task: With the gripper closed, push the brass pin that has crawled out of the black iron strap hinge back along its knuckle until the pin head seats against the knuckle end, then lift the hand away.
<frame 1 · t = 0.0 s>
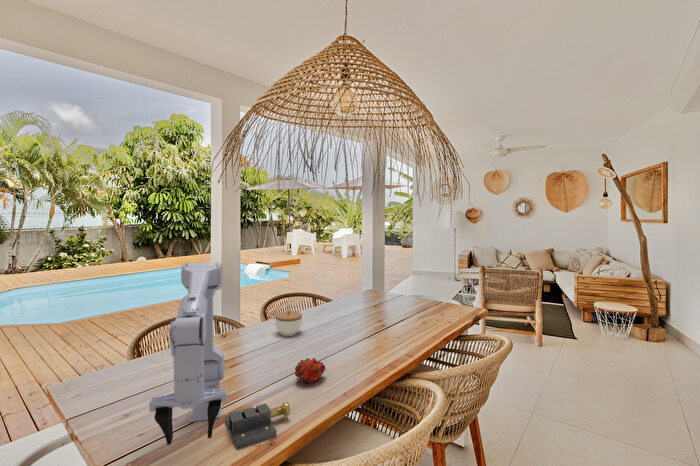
hand: (190, 438, 74), 10 cm above the table, fingers open, 7 cm apart
lidded bowl: (288, 334, 169), on the table
dragon fruit: (310, 381, 121), on the table
hinge leaves: (250, 428, 94), on the table
pin: (268, 414, 96), point 3 cm above the table, slide at 4.0 cm
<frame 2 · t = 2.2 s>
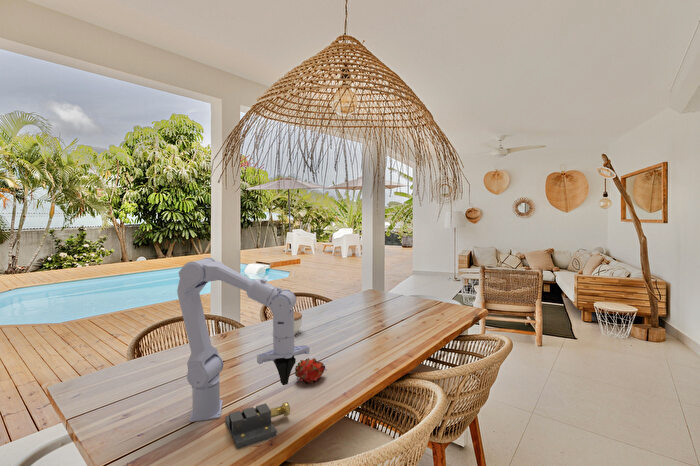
hand: (284, 383, 98), 10 cm above the table, fingers closed
nothing on the table moved.
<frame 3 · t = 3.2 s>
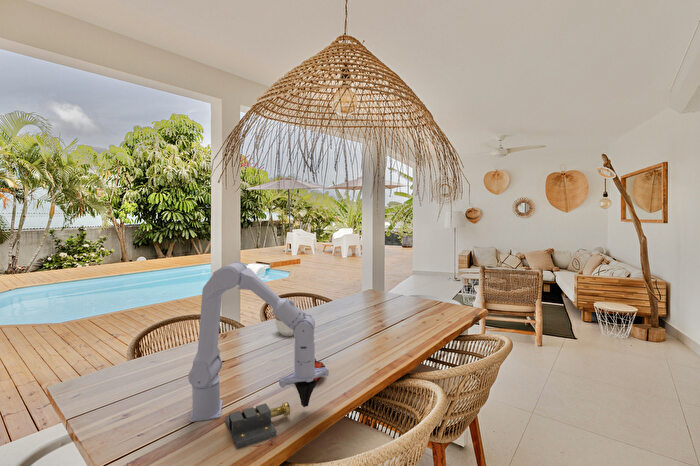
hand: (304, 404, 102), 2 cm above the table, fingers closed
nothing on the table moved.
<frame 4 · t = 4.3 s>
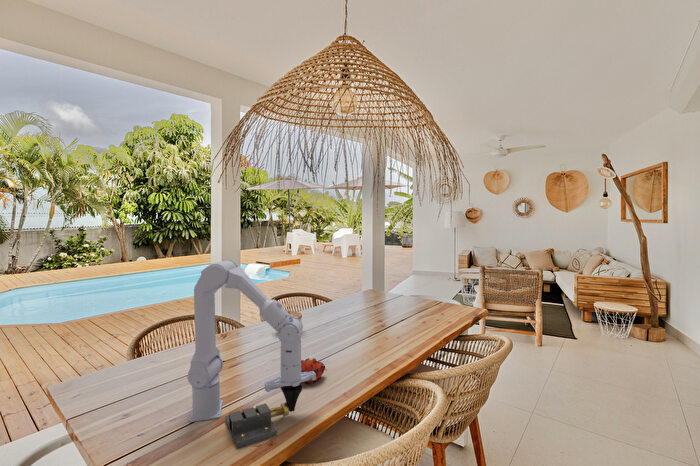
hand: (290, 409, 99), 2 cm above the table, fingers closed
pin: (266, 414, 96), point 2 cm above the table, slide at 3.6 cm, touching gripper
everything else where it was.
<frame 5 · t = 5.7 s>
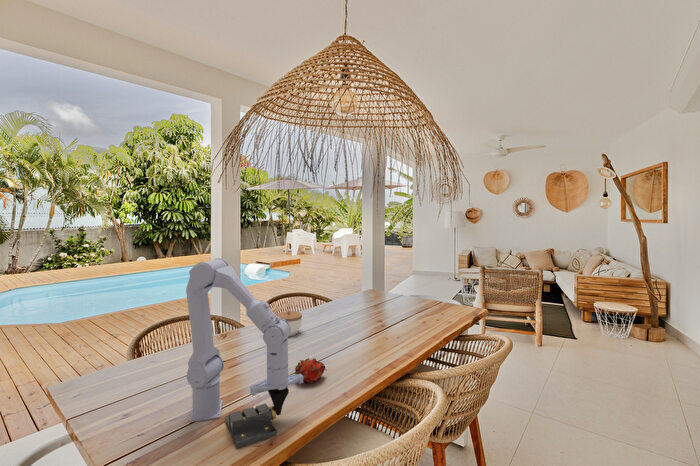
hand: (277, 413, 98), 2 cm above the table, fingers closed
pin: (253, 418, 94), point 3 cm above the table, slide at -0.1 cm, touching gripper
everything else where it was.
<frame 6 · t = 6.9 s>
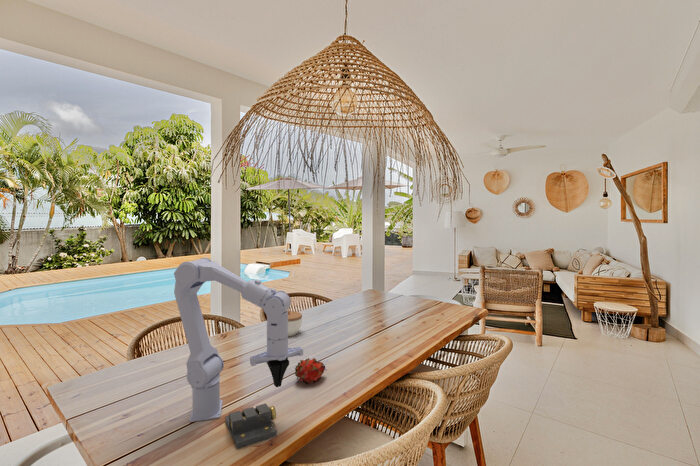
hand: (277, 385, 97), 10 cm above the table, fingers closed
pin: (253, 418, 94), point 3 cm above the table, slide at 0.0 cm
everything else where it was.
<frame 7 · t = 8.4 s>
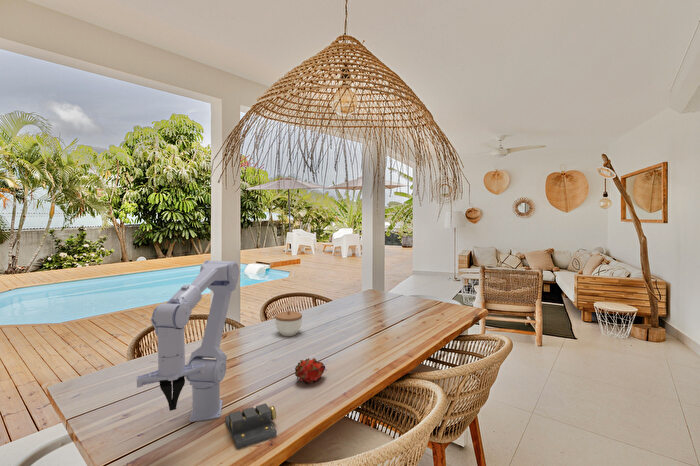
hand: (172, 408, 85), 10 cm above the table, fingers closed
nothing on the table moved.
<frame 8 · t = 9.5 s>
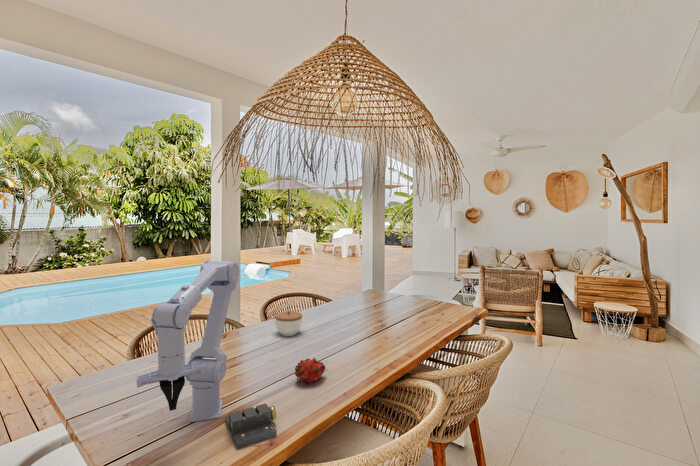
hand: (172, 408, 85), 10 cm above the table, fingers closed
nothing on the table moved.
at the end: pin slide at 0.0 cm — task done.
